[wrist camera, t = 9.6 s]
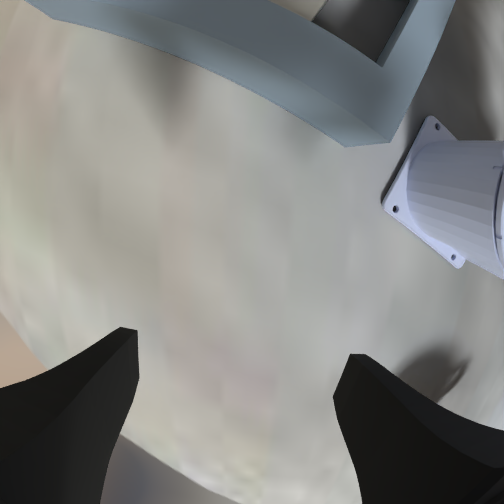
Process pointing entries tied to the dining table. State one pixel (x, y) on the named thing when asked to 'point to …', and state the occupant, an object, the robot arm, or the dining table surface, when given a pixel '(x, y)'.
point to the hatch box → (283, 54)
